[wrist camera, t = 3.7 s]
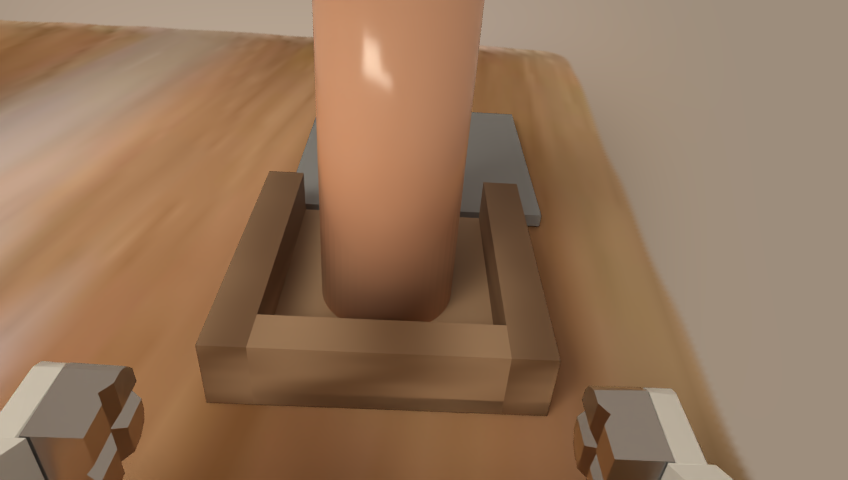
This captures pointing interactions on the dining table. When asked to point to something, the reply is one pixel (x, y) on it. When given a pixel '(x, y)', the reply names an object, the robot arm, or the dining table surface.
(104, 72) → the dining table surface
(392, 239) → the tall peach cylinder
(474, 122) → the mat
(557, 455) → the dining table surface
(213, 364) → the cradle
